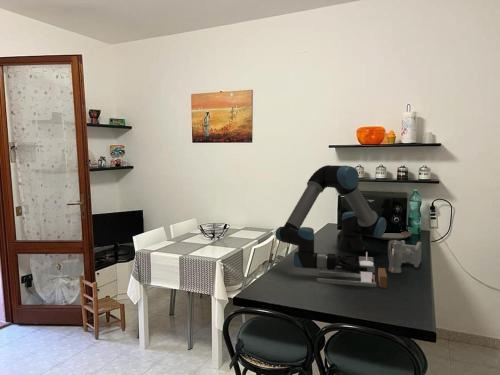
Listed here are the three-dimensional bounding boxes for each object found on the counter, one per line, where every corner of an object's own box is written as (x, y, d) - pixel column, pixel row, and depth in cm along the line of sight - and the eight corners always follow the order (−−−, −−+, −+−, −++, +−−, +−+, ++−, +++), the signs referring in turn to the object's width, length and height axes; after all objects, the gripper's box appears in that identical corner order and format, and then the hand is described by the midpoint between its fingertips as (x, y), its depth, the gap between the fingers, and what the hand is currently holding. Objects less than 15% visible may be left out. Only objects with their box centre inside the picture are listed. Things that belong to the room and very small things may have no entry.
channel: (316, 282, 169) (316, 271, 168) (319, 273, 180) (319, 263, 180) (386, 288, 161) (387, 277, 160) (384, 278, 172) (384, 268, 171)
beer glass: (401, 269, 184) (402, 240, 182) (402, 274, 178) (403, 244, 176) (387, 268, 186) (387, 239, 185) (387, 272, 180) (388, 243, 178)
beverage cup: (365, 284, 165) (366, 254, 163) (356, 280, 170) (356, 251, 169) (376, 282, 167) (376, 252, 166) (366, 278, 173) (367, 249, 171)
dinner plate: (359, 235, 259) (359, 230, 258) (389, 231, 269) (389, 226, 269) (388, 244, 234) (388, 239, 233) (419, 239, 244) (419, 234, 244)
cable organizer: (417, 270, 183) (418, 247, 182) (395, 267, 188) (395, 245, 187) (421, 262, 195) (421, 241, 194) (400, 259, 201) (400, 238, 200)
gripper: (328, 261, 185) (372, 264, 179) (324, 278, 161) (375, 282, 155) (328, 246, 184) (372, 249, 178) (324, 261, 160) (375, 265, 155)
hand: (374, 264), depth 167 cm, fingers open, 13 cm apart
